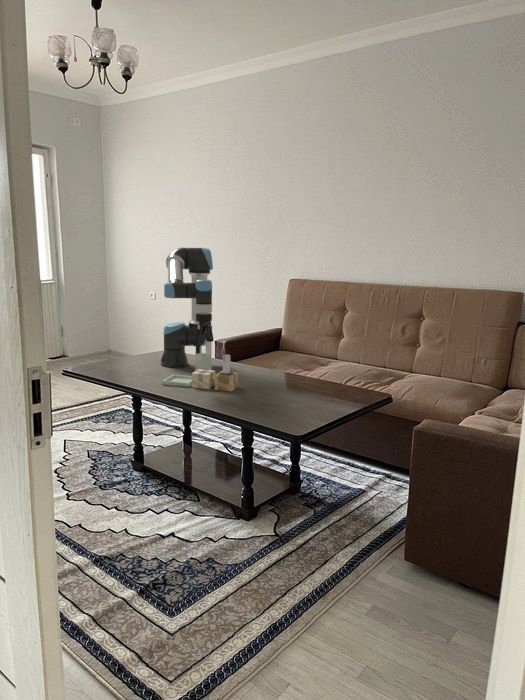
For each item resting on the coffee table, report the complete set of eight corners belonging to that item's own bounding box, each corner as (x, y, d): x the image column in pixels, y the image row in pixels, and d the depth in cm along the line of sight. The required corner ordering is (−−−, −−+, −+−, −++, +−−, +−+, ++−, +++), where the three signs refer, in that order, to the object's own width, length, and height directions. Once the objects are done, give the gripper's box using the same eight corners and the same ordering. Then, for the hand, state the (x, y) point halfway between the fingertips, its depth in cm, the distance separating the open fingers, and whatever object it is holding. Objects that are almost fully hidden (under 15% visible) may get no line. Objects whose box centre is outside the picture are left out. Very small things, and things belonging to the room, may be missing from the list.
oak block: (220, 385, 263) (220, 371, 262) (237, 386, 261) (237, 372, 260) (214, 389, 255) (215, 375, 254) (232, 391, 253) (232, 376, 252)
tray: (173, 378, 274) (173, 374, 274) (198, 380, 271) (198, 376, 270) (161, 384, 261) (161, 380, 261) (188, 387, 258) (188, 383, 258)
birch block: (198, 383, 266) (198, 369, 265) (214, 384, 264) (214, 370, 263) (192, 387, 258) (192, 373, 257) (208, 389, 256) (208, 374, 255)
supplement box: (211, 374, 285) (211, 350, 283) (209, 377, 278) (209, 353, 275) (198, 373, 286) (198, 349, 283) (194, 376, 279) (194, 352, 276)
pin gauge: (223, 386, 260) (224, 354, 257) (230, 387, 260) (231, 354, 256) (221, 388, 257) (221, 355, 254) (228, 389, 256) (229, 356, 253)
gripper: (205, 309, 267) (205, 352, 271) (186, 315, 243) (186, 361, 247) (220, 310, 265) (219, 353, 269) (202, 316, 241) (201, 363, 245)
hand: (203, 357), depth 258 cm, fingers open, 13 cm apart
